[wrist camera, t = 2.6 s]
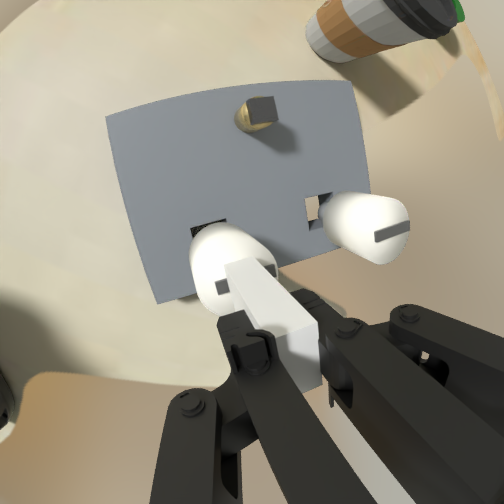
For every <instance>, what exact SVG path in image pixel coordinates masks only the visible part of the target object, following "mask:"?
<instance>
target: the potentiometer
mask: <svg viewBox="0 0 504 504" xmlns="http://www.w3.org/2000/svg"><path fill="white" fill-rule="evenodd" d="M278 120H279V118H278V113H277V109H276V104H275V100H274V96H268V97H263V96H255V97H252V98H250V99H248V100H247V101H246V102H245V103H244V104H243V105H242V106H241V107H240V108H239V109H237V111H236V112H235V115H234V122H235V125H236V126H237V128H238V129H239V130H241V131H243V132H245V133H253V132H256V131H258V130H260V129H263V128H265V127H267V126H269V125H271V124H272V123H273V122H275V121H278Z"/></svg>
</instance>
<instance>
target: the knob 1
mask: <svg viewBox="0 0 504 504" xmlns="http://www.w3.org/2000/svg"><path fill="white" fill-rule="evenodd" d="M251 256H253V257H254V258H255V259H256V260H257V261H258V262H259V263H260V264H261V265H262V266H263V267H264V268H265V269H266V270H267V271H268V272H269V273H270V274H271V275H272V276H273V277H274V278H275V279H276V280H277V281H278V267H277V263H276V261H275V259H274V257H273V255H272V254H271V253H270V251H269V250H268V249H267V248H266V247H264V246H263V245H262V244H260V243H259V242H258V241H257V240H255V239H254V238H253V237H252V236H250V235H249V234H248V233H246V232H245V231H244V230H243V229H241V228H240V227H238V226H236V225H234V224H231V223H227V222H219V223H213V224H211V225H208V226H206V227H205V228H203V229H202V230H200V231H199V232H198V233H197V235H196V236H195V237H194V239H193V240H192V242H191V245H190V249H189V262H190V266H191V270H192V275H193V279H194V283H195V287H196V291H197V294H198V297H199V299H200V300H201V302H202V304H203V305H204V306H205V307H206V308H207V309H208V310H209V311H211V312H212V313H214V314H216V315H218V316H224V315H227V314H230V313H234V312H235V308H234V304H233V301H232V297H231V293H230V289H229V286H228V282H227V278H226V274H225V270H224V267H223V264H227V263H230V262H234V261H237V260H240V259H244V258H247V257H251Z"/></svg>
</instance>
